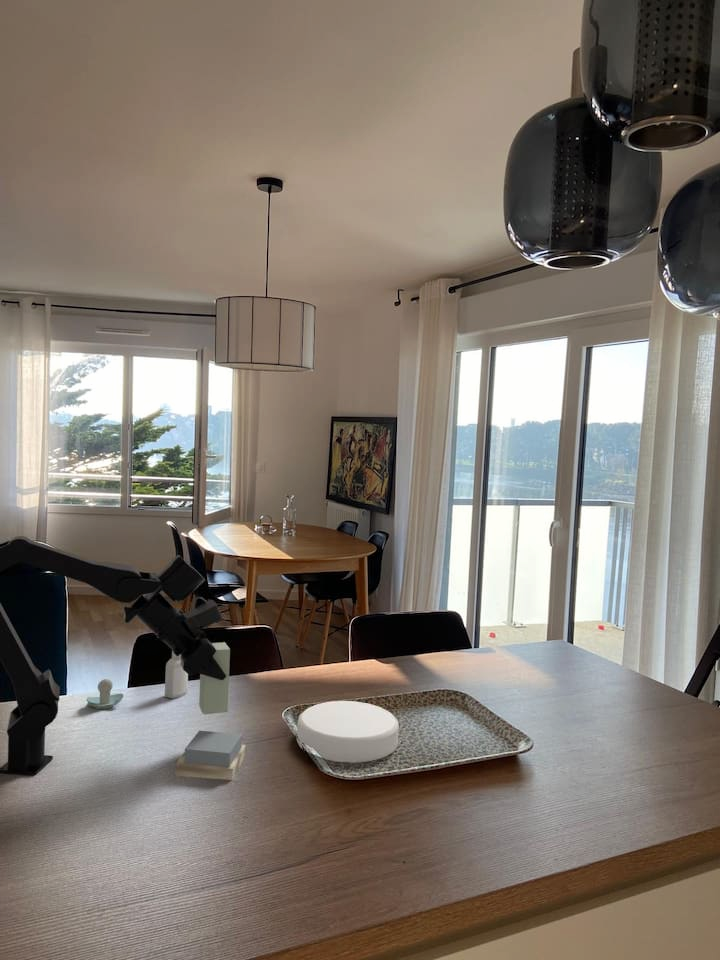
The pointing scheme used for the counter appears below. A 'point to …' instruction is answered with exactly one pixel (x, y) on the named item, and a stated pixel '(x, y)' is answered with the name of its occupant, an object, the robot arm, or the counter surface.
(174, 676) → the eye dropper bottle
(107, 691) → the pacifier
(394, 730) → the container
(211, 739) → the tower middle
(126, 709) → the counter surface
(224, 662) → the pillar block
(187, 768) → the tower base
